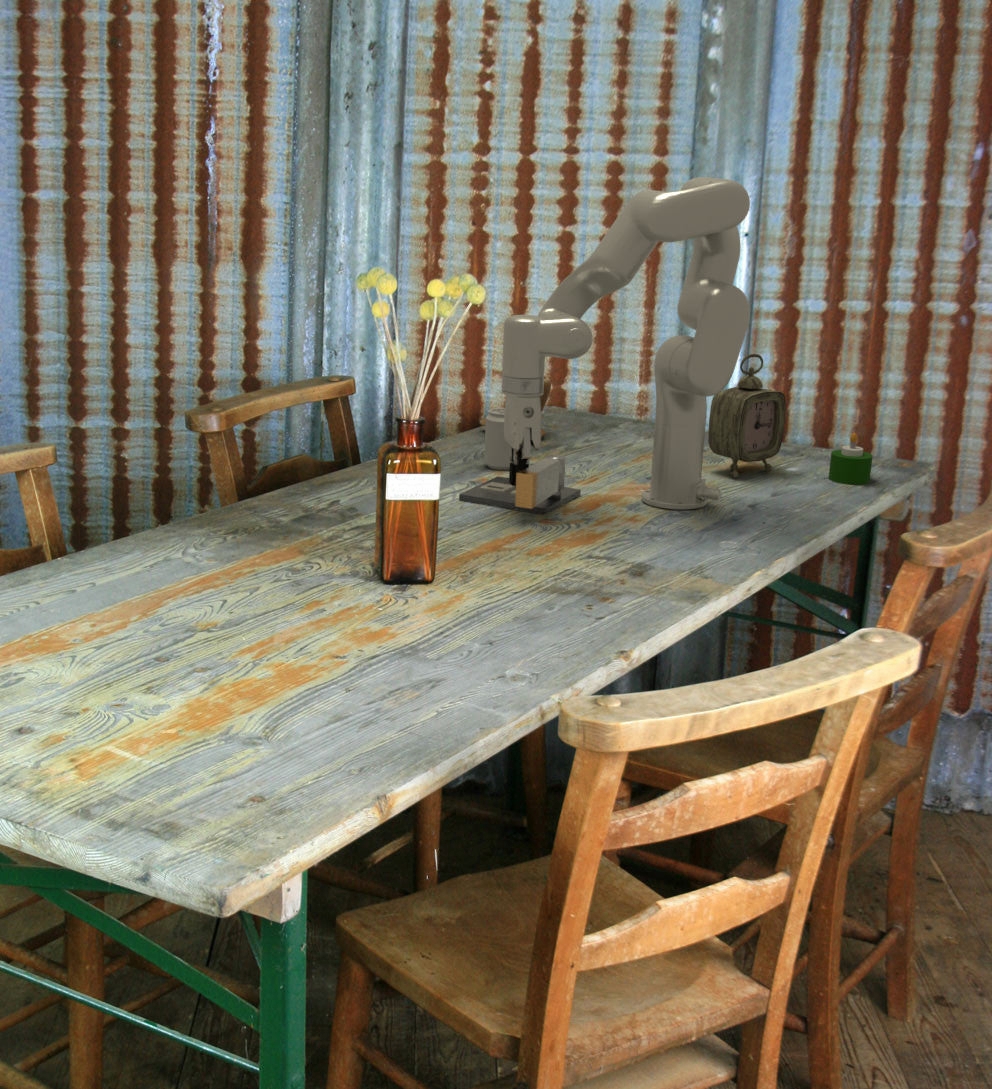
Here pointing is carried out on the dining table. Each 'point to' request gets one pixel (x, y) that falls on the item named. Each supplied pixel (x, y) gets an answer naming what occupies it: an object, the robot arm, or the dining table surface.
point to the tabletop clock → (747, 421)
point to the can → (496, 441)
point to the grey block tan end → (540, 481)
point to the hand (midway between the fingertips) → (518, 484)
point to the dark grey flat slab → (514, 496)
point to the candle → (850, 464)
